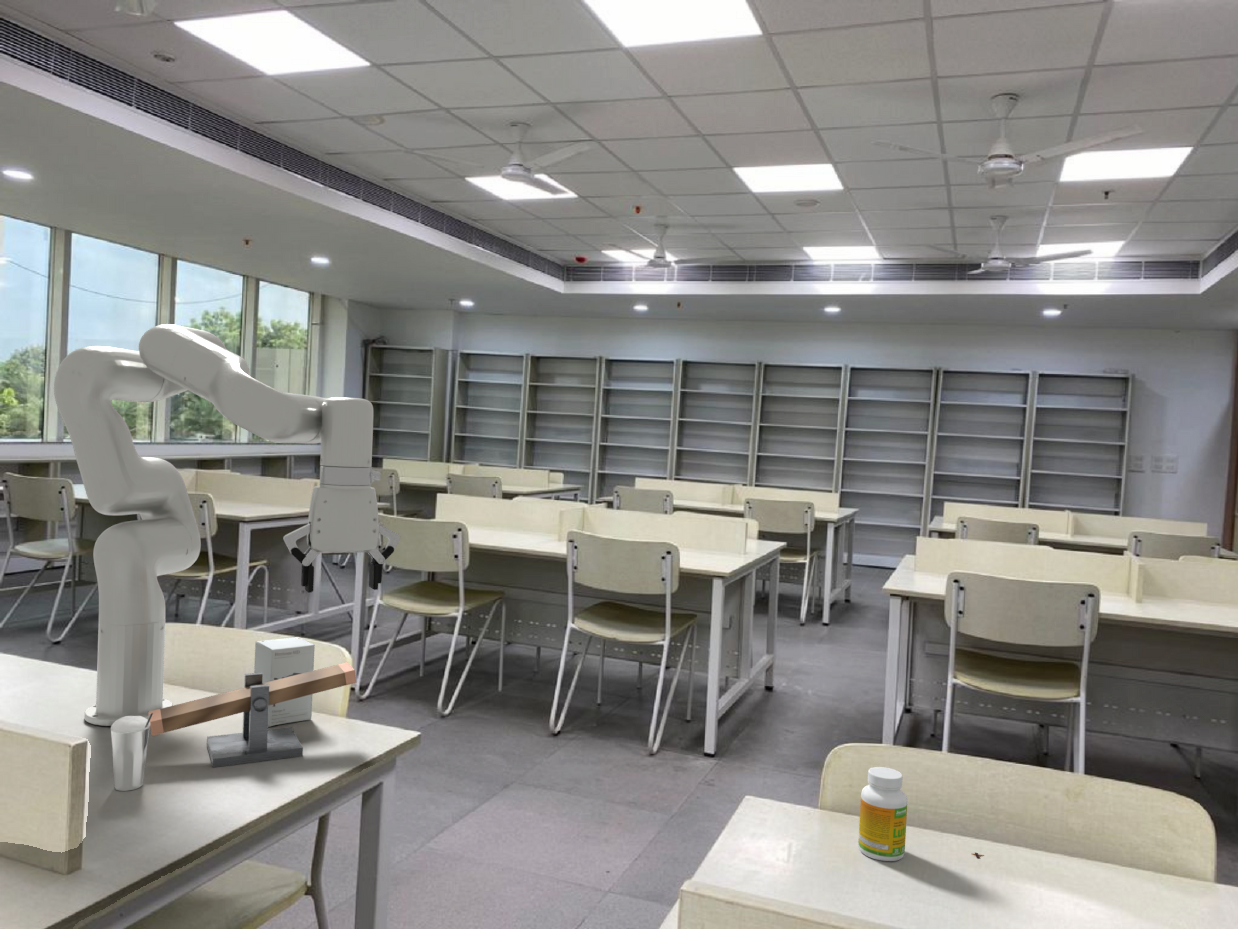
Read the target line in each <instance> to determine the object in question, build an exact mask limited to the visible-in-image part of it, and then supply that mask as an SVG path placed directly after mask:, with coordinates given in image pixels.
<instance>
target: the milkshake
mask: <svg viewBox="0 0 1238 929" xmlns="http://www.w3.org/2000/svg"><path fill="white" fill-rule="evenodd" d="M152 714H153V713H151V714H150V716H149V718H148V719H146V718H144V717H142V716H125V717H122V718H120V719H118V720H116V721H115V722H114V723H113V724H112V726H110V736H111V737H110V738H111V746H112V766H113V768H112V769H113V770H112V771H113V785H114V786H113V787H114V789H115V790H116V791H120V792H128V791H134V790H137V789H139V788H141V787H142V786H143V785H144V780H145V770H146V761H147V752H148V742H149V735H150V732H151V728H150V722H149V721H150V719H151V717H152Z"/></svg>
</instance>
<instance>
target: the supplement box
mask: <svg viewBox="0 0 1238 929" xmlns="http://www.w3.org/2000/svg"><path fill="white" fill-rule="evenodd" d="M298 638H300V637H299V636H296V637H286V638H277V639H276V638H275V639H267V640H258V641H255V643H254V644H255V645H254V649H255V650H254V667H253V670H254V671H253V673H261V672H262V674H263V678H262V683H266V682H270V681H274V680H278V679H282V678H286V677H290V676H294V675H298V674H302V673H306V672H310V671H314V670H315V669H314V667H315V665H314V664H315V647H316V646H315V644H314V643H312V642H309V641H307V640H305V639H304V638H301V639H298ZM313 695H314V694H311V695H307V696H303V697H299V698H295V699H292V700H288V701H284V702H280V703H276V704H273V705H269V709H268V728H270V727H275V726H278V725H283V724H289V723H295V722H301V721H310V720H312V714H313Z"/></svg>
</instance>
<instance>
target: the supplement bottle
mask: <svg viewBox="0 0 1238 929" xmlns="http://www.w3.org/2000/svg"><path fill="white" fill-rule="evenodd" d="M867 783H868V784H866V786H864V787H863V788H862V790H861V794H860V807H859V823H858V824H859V826H858V828H859V829H858V844H857V845H858V849H859V851H860V852H861V853H862V854H864V856H865V857H866V856H867V857H869V858H870V859H873V860H877V861H882V862H896V861H897V862H898V861H899V860H902V859H903V858H904V856H905V852H906V851H905V850H906V837H907V836H906V835H907V821H908V820H907V819H908V817H907V816H908V797H907V794H906V793H905V792H904V791H903V790H902V788H903V773H901V772H900V771H898V770H897V769H894V768H889V767H885V766H884V767H883V766H873V767H870V768H869V769H868V772H867Z"/></svg>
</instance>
